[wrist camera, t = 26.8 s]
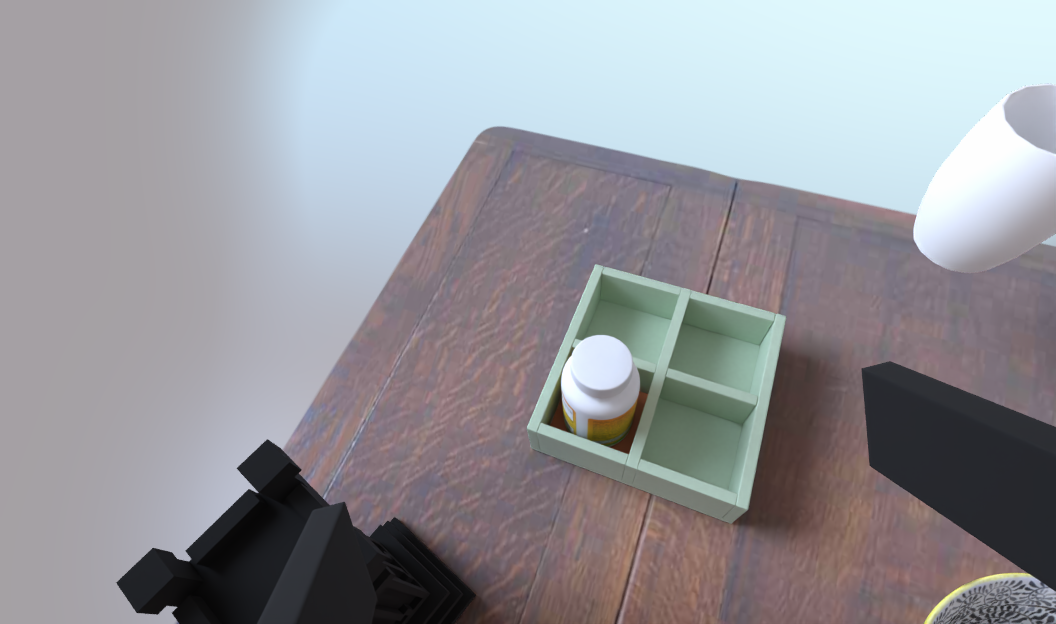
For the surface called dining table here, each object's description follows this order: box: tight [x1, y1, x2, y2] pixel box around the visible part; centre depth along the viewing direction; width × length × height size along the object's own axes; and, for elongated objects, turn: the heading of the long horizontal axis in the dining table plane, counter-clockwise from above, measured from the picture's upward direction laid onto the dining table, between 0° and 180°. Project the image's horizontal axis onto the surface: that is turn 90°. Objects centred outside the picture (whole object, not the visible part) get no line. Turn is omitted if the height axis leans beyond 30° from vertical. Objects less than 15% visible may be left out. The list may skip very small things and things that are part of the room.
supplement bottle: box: [561, 335, 640, 447], centre depth 39 cm, size 5×5×10 cm
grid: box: [527, 264, 786, 524], centre depth 43 cm, size 15×15×5 cm
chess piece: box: [117, 440, 476, 624], centre depth 29 cm, size 8×8×20 cm
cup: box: [914, 84, 1056, 273], centre depth 38 cm, size 7×7×21 cm
